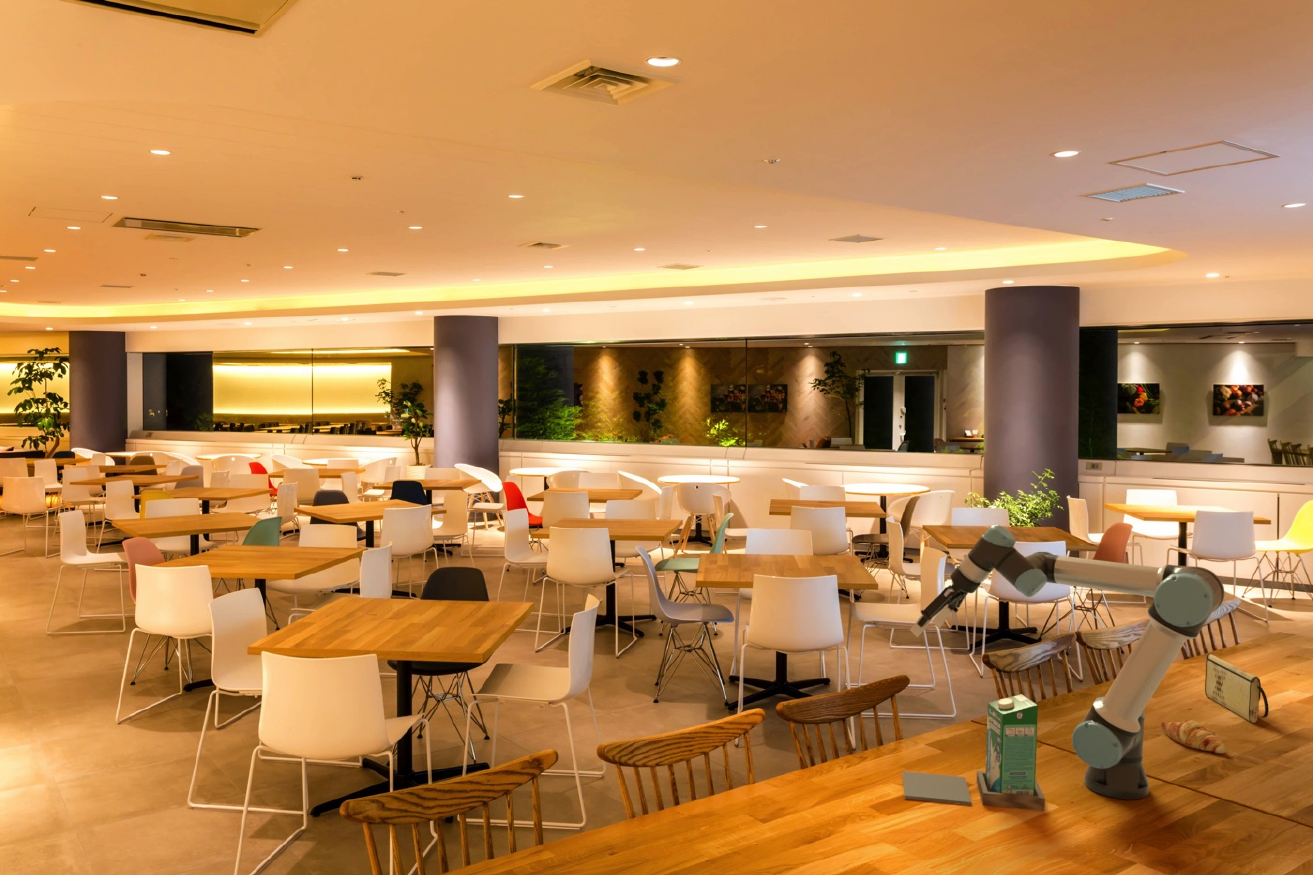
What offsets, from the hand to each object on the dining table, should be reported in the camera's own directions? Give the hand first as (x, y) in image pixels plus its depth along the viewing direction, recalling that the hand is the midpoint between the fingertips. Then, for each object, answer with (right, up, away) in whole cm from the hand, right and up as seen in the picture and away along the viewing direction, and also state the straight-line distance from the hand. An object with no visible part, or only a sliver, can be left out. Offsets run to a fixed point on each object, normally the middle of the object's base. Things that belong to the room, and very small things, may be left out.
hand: (924, 628), depth 275 cm
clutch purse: (+113, -35, +45) cm, 127 cm away
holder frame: (+15, -38, -25) cm, 47 cm away
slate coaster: (-3, -37, -21) cm, 43 cm away
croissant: (+82, -37, +14) cm, 91 cm away
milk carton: (+15, -38, -25) cm, 48 cm away
